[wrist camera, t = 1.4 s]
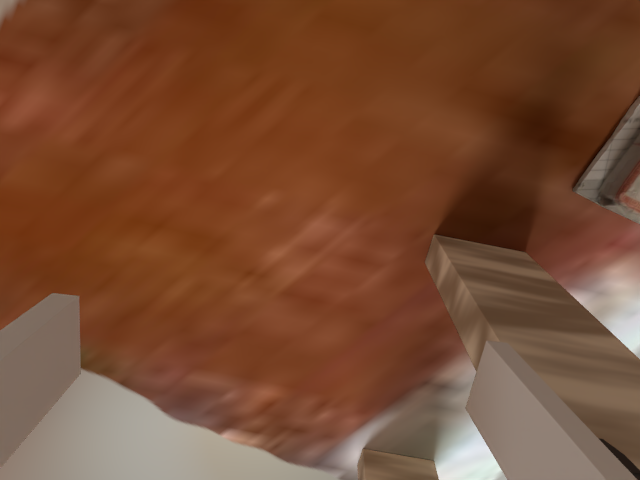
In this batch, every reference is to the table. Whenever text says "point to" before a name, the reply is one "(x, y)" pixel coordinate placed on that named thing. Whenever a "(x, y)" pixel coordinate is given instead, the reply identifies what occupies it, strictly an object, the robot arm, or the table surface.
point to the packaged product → (617, 170)
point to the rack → (529, 344)
